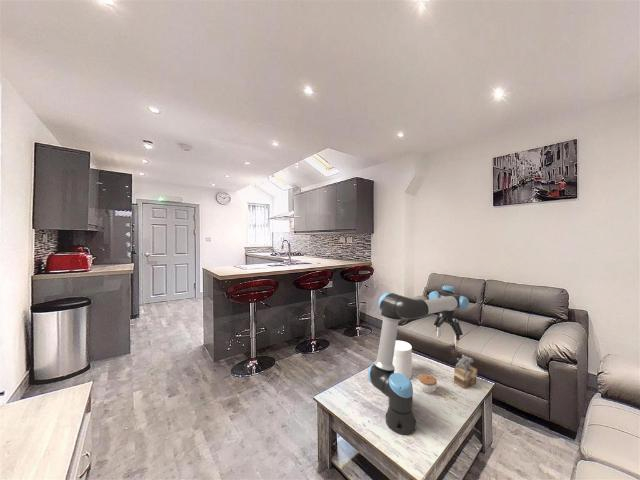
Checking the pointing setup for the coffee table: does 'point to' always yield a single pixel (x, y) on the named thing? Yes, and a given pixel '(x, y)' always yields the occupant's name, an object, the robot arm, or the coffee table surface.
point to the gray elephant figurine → (464, 362)
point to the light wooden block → (463, 375)
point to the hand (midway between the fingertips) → (447, 340)
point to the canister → (403, 358)
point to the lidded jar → (427, 383)
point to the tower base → (464, 382)
